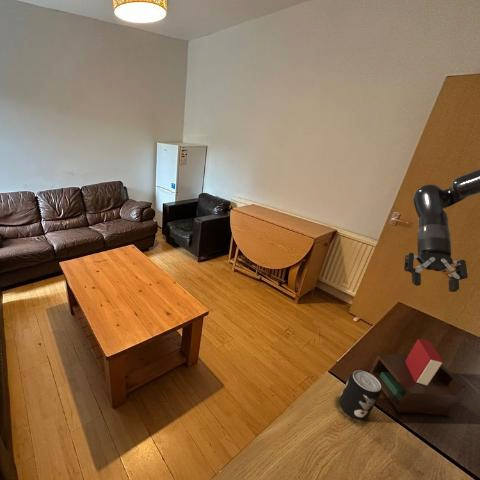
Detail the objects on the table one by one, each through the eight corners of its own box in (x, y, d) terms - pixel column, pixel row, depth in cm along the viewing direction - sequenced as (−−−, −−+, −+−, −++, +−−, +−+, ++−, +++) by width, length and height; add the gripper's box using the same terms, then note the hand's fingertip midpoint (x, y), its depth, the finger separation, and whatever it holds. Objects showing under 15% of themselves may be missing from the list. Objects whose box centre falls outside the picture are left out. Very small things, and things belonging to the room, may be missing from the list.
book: (416, 364, 73) (430, 341, 69) (427, 386, 67) (443, 362, 63) (404, 361, 74) (417, 338, 70) (415, 382, 68) (430, 359, 64)
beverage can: (342, 417, 68) (356, 388, 62) (334, 394, 73) (347, 366, 68) (371, 425, 66) (388, 396, 61) (361, 401, 71) (376, 372, 66)
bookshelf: (409, 374, 79) (425, 348, 74) (446, 414, 68) (467, 388, 63) (368, 372, 79) (381, 346, 75) (398, 411, 69) (415, 385, 64)
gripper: (412, 233, 83) (412, 280, 79) (471, 240, 78) (475, 291, 74) (400, 241, 90) (399, 285, 86) (454, 248, 85) (456, 295, 80)
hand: (435, 288), depth 80 cm, fingers open, 8 cm apart
